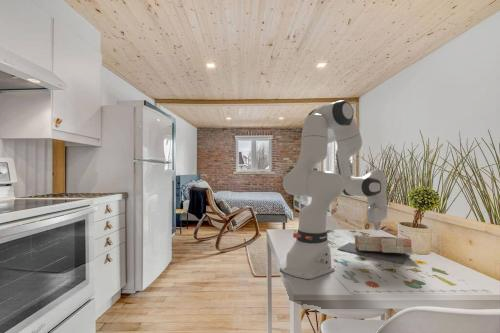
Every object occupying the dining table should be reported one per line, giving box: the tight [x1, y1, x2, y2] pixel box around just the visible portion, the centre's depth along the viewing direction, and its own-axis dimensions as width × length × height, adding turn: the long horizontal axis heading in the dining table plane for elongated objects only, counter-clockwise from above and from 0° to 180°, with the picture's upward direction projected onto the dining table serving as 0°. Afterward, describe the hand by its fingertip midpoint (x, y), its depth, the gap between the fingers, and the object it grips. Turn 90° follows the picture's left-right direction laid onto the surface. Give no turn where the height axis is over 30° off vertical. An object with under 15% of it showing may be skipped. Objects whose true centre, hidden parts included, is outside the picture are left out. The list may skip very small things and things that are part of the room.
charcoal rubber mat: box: [336, 242, 411, 265], centre depth 118 cm, size 15×28×1 cm, turn 47°
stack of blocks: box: [354, 235, 413, 255], centre depth 117 cm, size 21×6×12 cm
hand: (377, 229), depth 124 cm, fingers closed
